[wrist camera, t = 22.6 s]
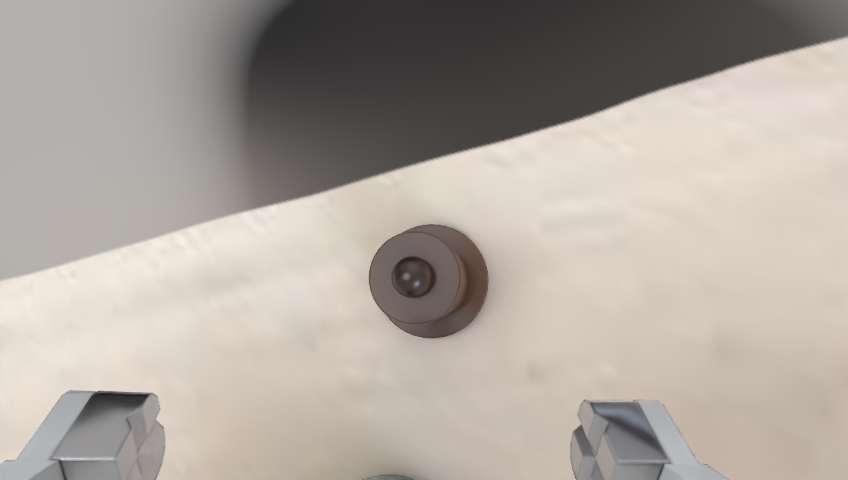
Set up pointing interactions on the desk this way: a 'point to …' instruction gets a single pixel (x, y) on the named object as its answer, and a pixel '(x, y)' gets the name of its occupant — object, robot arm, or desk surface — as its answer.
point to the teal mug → (388, 477)
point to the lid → (429, 280)
